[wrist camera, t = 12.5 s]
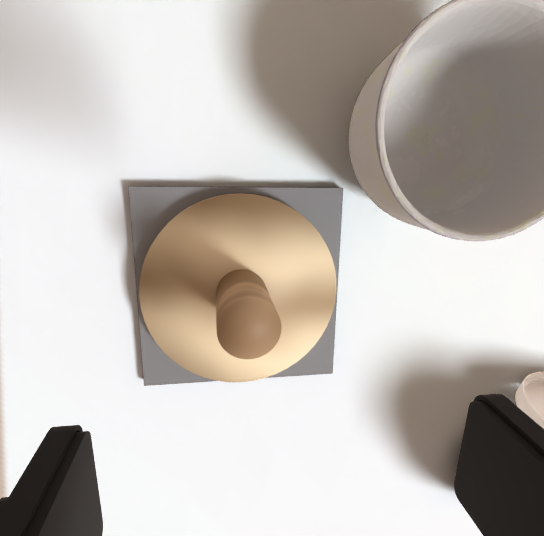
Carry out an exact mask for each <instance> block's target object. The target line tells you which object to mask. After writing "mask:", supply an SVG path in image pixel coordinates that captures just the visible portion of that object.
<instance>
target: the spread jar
mask: <svg viewBox="0 0 544 536" xmlns="http://www.w3.org/2000/svg"><path fill="white" fill-rule="evenodd" d="M515 402H516V405H517V407H518V408H519V409H521V410H522V411H523V412H524V413H525V414H527V415H528V416H529V417H530V418H531V419H533V420H534V421H535V422H536V423H537V424H538V425H540V426H541V427H542V428H543V429H544V372H535V373H531V374H529V375H528V376H527V377H526V378H525V379H524V380H523V382H522V383H521V385H520V386H519V387H518V389H517V390H516V394H515Z"/></svg>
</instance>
